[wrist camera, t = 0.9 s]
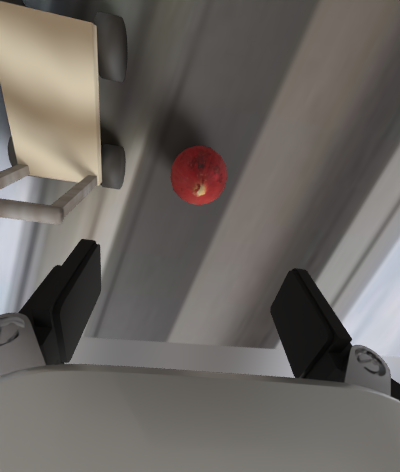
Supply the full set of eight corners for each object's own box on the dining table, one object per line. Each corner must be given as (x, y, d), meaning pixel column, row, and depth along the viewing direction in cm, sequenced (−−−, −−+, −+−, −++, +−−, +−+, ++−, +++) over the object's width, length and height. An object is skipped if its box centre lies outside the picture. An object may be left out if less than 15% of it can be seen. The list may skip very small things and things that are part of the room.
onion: (176, 135, 26) (172, 150, 19) (227, 145, 26) (241, 163, 19) (169, 186, 28) (164, 215, 22) (216, 193, 29) (224, 224, 22)
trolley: (9, -4, 19) (-257, -151, 8) (127, 24, 21) (50, -66, 9) (38, 168, 27) (-77, 225, 15) (125, 181, 28) (80, 244, 16)
